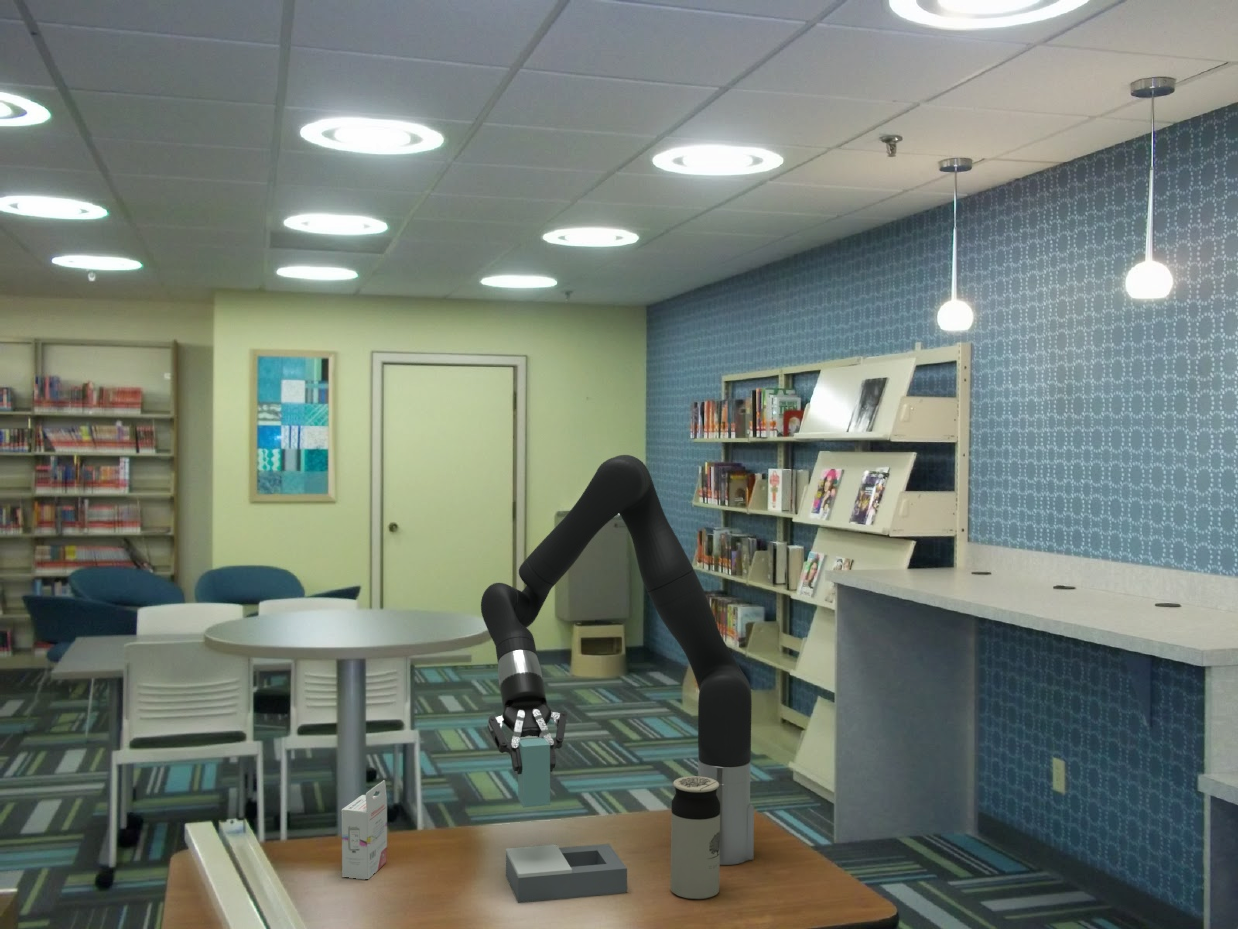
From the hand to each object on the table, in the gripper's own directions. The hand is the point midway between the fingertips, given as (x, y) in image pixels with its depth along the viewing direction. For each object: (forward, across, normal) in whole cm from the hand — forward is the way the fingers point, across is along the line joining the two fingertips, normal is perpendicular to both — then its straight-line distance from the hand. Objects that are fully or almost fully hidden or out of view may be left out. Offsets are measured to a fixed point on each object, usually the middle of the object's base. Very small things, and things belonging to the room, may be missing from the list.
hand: (535, 770), depth 198 cm
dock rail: (+14, +5, +14) cm, 20 cm away
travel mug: (+20, +25, +9) cm, 33 cm away
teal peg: (+3, 0, +5) cm, 6 cm away
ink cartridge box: (+3, -27, +24) cm, 36 cm away
